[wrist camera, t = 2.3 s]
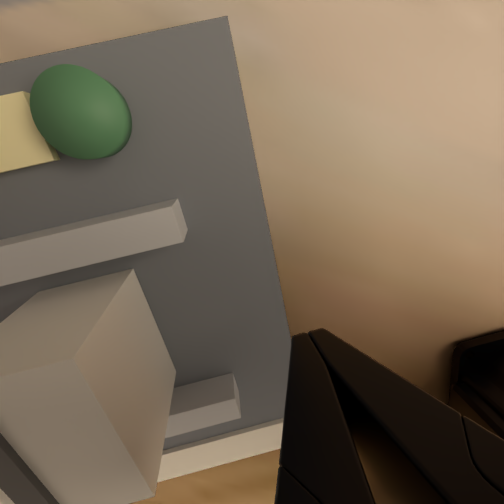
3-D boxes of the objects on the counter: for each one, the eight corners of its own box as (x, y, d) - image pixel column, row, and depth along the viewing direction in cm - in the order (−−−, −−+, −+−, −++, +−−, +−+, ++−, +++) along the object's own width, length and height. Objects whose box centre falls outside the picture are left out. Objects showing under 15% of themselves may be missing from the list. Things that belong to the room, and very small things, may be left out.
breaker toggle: (133, 268, 9) (68, 364, 5) (176, 371, 10) (153, 503, 7) (38, 291, 9) (-104, 408, 5) (96, 391, 10) (26, 539, 6)
